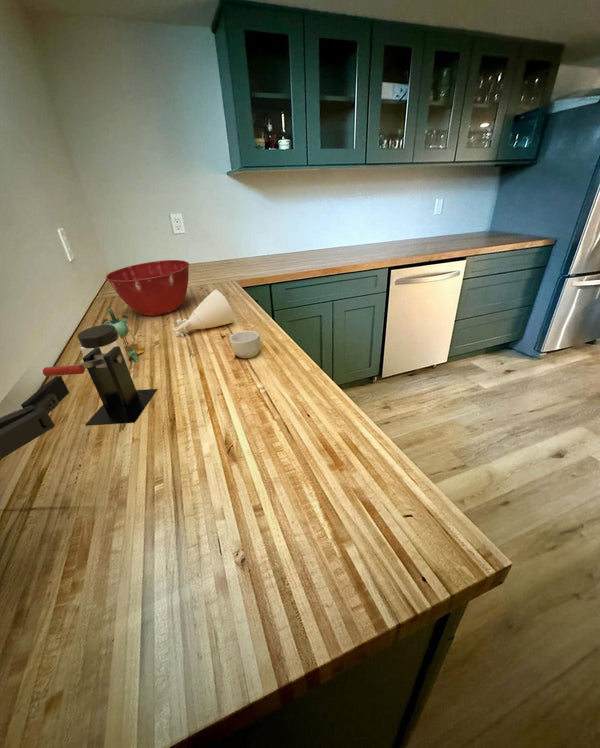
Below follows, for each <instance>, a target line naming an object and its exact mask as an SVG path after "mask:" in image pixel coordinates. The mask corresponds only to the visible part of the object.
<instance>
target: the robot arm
mask: <svg viewBox="0 0 600 748" xmlns="http://www.w3.org/2000/svg"><path fill="white" fill-rule="evenodd" d="M69 394H70V391H69V388H68V387H67V385H66V383H65V381H64V379H63V377H62V375H58V376H53V378H52V379H50V380H49V381H48V382H47V383H46V384H44V385H43V386H42V387H40V388H39V389H38V390H37V391H36V392H34V393H33V394H32V395H30V397H29V398H27V399H26V400H25V401H23V402H22V403H21V404H20V406H21V408H20V409H18V410H15V411H13V412H11V413H9V414H6V415H4V416H2V417H0V460H2V459H4V458H5V457H7V456H9V455H10V454H12V453H14V452H16V451H17V450H19V449H21V448H22V447H24V446H26V445H27V444H29V443H30V442H32V441H34V440H35V439H37V438H38V437H41V436H42V435H44V434H45V433H47V432H49V431H50V430H53V428H55V426H56V424H55V423H54V421H53V419H52V418H51V415H50V413H51V412H52V411H53V410H54V409H55V408H56V407H57V406H58V405H59V403H60V402H62V400H64V398H66V397H67V396H68V395H69Z"/></svg>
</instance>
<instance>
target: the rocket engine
mask: <svg viewBox="0 0 600 748" xmlns="http://www.w3.org/2000/svg"><path fill="white" fill-rule="evenodd" d="M175 322H176V324H177V326H176V327H173V328H172V332H174V335H175V336H176V337H179V336H181V338H185V336H186V338H189V337H190V336H189V334H188V332H189V331H190V330H205V329H210V328H211V329H212V328H216V327H221V326H225V325H226V326H227V325H228V324H232V323H234V322H235V315H234V311H233V309H232V307H231V304H230V303H229V301H228V300H227V298H226V297H225V296H224V294H223V293H222V292H221V291H220V290H218V289H214V290H213V291H212V292H210V293H209V294H208V295H207V296H206V297H205V298H204V299H203V300H202V301H201V302H200V303H199V305H198V306H197V307H196V308H195V309H194V310H192V311H191V314H190V316H189V317H188V319H187V318H184V319H181V318H179V319H176V321H175Z"/></svg>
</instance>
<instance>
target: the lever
mask: <svg viewBox="0 0 600 748" xmlns="http://www.w3.org/2000/svg"><path fill="white" fill-rule="evenodd" d="M106 354H107V353H104V354H99V355H94V360H91V361H87V362H84V361H83V362H79V363H75V364H71V365H61V366H46V367H43V369H42V374H43V375H44V376H45V377H55V376H71V375H83V374H85V371H86V369H87V368H90V367H94V366H96V368H103V367H107V365H106V362H105V360H104V356H105V355H106Z"/></svg>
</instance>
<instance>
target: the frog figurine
mask: <svg viewBox="0 0 600 748" xmlns="http://www.w3.org/2000/svg"><path fill="white" fill-rule="evenodd" d="M108 313H109V316H110V317H111V319H110V320H109V319H108V318H105V319H103V320H102V325H112V326H114V327H115V328H116V330H117V333H118V335H120V337H121V340H122V341H123V342H124V345H125V346H124V348H125V351H126V353H127V356H128V359H129V360H133V362H136V363H138V362H139V357H138V355H140V354H142V353H144V352H145V345H144V344H141V343H140V342H139V343H131V344H129V342H128V340H127V335H128V334H129V333H130V335H131V337H132V339H133V341H134V342H136V338H135V337H134V335H133V333H132V332H131V330H130V329H129V327H128V325H127V323H128V319H129V317H128V316H127V315H124V314H123V315H121V316H120V317H121V318H122V319H121V320H120V318H119V317H117V318H116V315H115V313H114V311H113V309H112V308H109V309H108Z"/></svg>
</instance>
